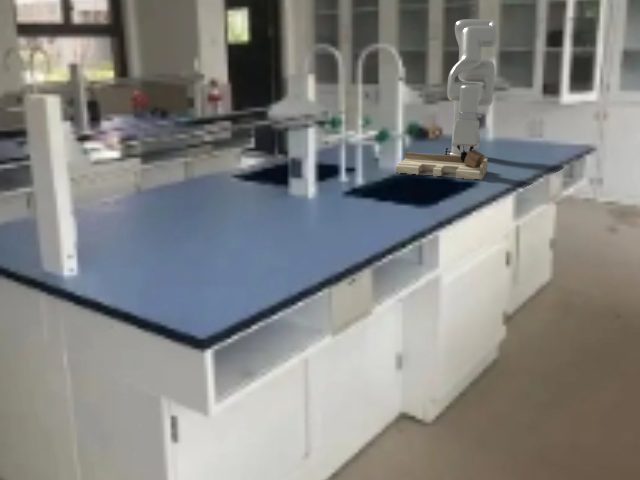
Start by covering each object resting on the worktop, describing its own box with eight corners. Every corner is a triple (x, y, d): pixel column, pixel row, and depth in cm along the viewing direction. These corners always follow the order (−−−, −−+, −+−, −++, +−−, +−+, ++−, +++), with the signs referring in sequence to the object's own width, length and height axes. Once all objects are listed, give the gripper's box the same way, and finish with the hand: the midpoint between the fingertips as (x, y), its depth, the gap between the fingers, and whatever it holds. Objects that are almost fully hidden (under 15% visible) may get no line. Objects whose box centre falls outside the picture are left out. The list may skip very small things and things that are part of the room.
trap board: (405, 165, 299) (406, 152, 298) (486, 171, 289) (487, 158, 287) (395, 173, 283) (396, 159, 281) (481, 180, 272) (482, 166, 271)
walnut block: (469, 160, 286) (474, 149, 284) (479, 166, 284) (484, 155, 281) (463, 162, 282) (468, 151, 280) (473, 167, 280) (478, 156, 277)
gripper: (487, 116, 281) (484, 161, 287) (450, 114, 286) (447, 159, 291) (485, 118, 274) (481, 165, 280) (447, 116, 279) (444, 162, 285)
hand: (464, 161), depth 286 cm, fingers closed
